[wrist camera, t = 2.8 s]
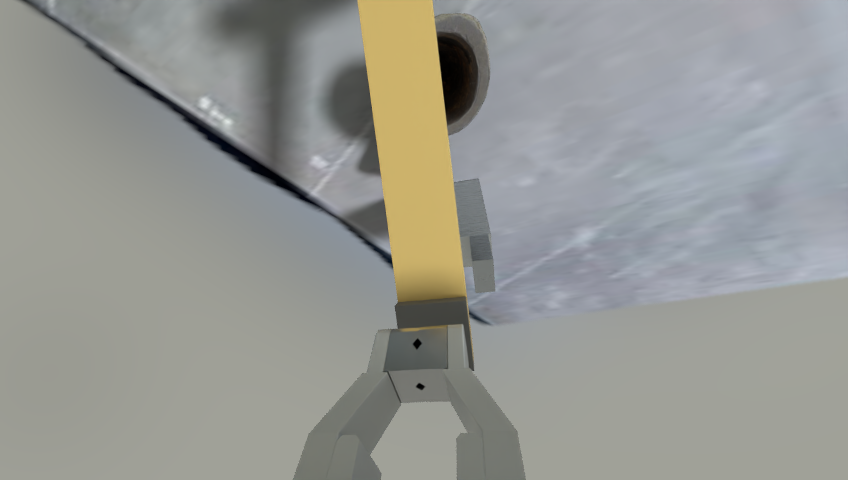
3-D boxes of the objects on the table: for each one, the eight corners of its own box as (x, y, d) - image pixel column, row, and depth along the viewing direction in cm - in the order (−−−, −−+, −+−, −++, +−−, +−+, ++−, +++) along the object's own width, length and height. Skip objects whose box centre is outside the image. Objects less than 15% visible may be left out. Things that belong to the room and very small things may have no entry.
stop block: (411, 188, 32) (394, 269, 21) (478, 178, 31) (496, 258, 20) (417, 212, 33) (403, 299, 23) (481, 204, 32) (498, 291, 22)
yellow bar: (345, -111, 13) (326, -162, 11) (421, -135, 13) (414, -191, 11) (407, 354, 15) (399, 374, 13) (477, 350, 14) (478, 370, 12)
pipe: (373, 149, 30) (353, 183, 23) (428, -3, 23) (420, -15, 16) (429, 174, 31) (425, 214, 24) (497, 37, 24) (517, 41, 17)
